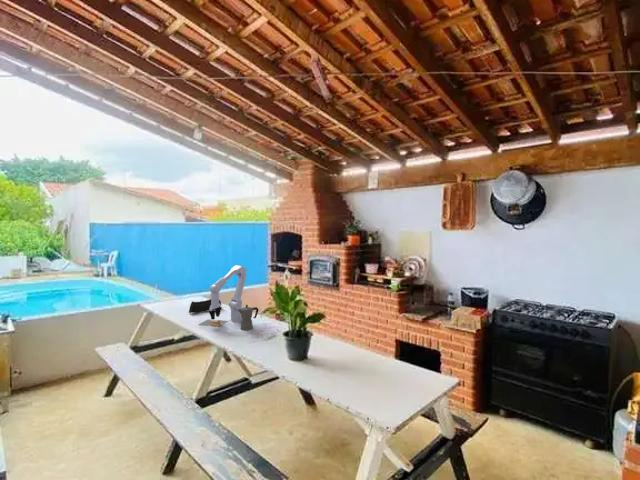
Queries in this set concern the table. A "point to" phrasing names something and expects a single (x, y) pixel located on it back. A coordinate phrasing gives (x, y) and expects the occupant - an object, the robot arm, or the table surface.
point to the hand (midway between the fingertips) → (215, 317)
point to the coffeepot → (247, 317)
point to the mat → (207, 323)
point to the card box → (215, 322)
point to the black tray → (200, 306)
